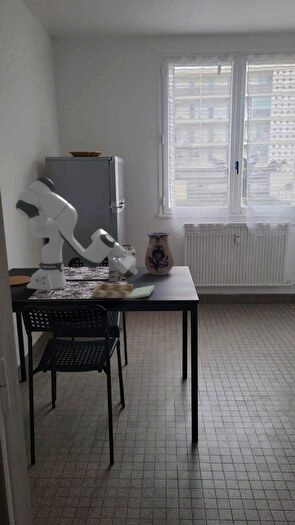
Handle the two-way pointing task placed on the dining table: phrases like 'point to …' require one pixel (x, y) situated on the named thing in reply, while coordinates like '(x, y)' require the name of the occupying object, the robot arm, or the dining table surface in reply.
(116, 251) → the robot arm
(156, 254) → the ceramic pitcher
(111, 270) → the coffee box
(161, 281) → the dining table surface
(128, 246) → the apothecary jar
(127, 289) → the truck bed crate
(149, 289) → the pale green flat slab
